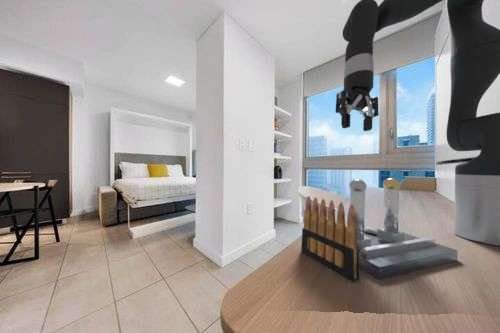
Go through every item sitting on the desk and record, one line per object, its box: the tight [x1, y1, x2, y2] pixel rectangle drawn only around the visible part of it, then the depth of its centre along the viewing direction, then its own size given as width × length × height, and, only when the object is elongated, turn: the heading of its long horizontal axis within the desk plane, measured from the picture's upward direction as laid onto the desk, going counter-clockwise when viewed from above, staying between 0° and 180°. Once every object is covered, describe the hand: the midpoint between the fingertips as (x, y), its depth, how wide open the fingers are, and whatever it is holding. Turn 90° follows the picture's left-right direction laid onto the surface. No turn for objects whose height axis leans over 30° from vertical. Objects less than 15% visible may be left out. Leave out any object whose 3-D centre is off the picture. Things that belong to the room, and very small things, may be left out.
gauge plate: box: [358, 228, 458, 280], centre depth 36 cm, size 22×13×3 cm, turn 107°
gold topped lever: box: [365, 177, 406, 243], centre depth 39 cm, size 4×7×14 cm, turn 17°
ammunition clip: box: [300, 195, 360, 283], centre depth 31 cm, size 11×2×12 cm, turn 30°
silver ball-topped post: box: [348, 178, 371, 251], centre depth 36 cm, size 4×7×14 cm, turn 17°
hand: (357, 129), depth 50 cm, fingers open, 8 cm apart
